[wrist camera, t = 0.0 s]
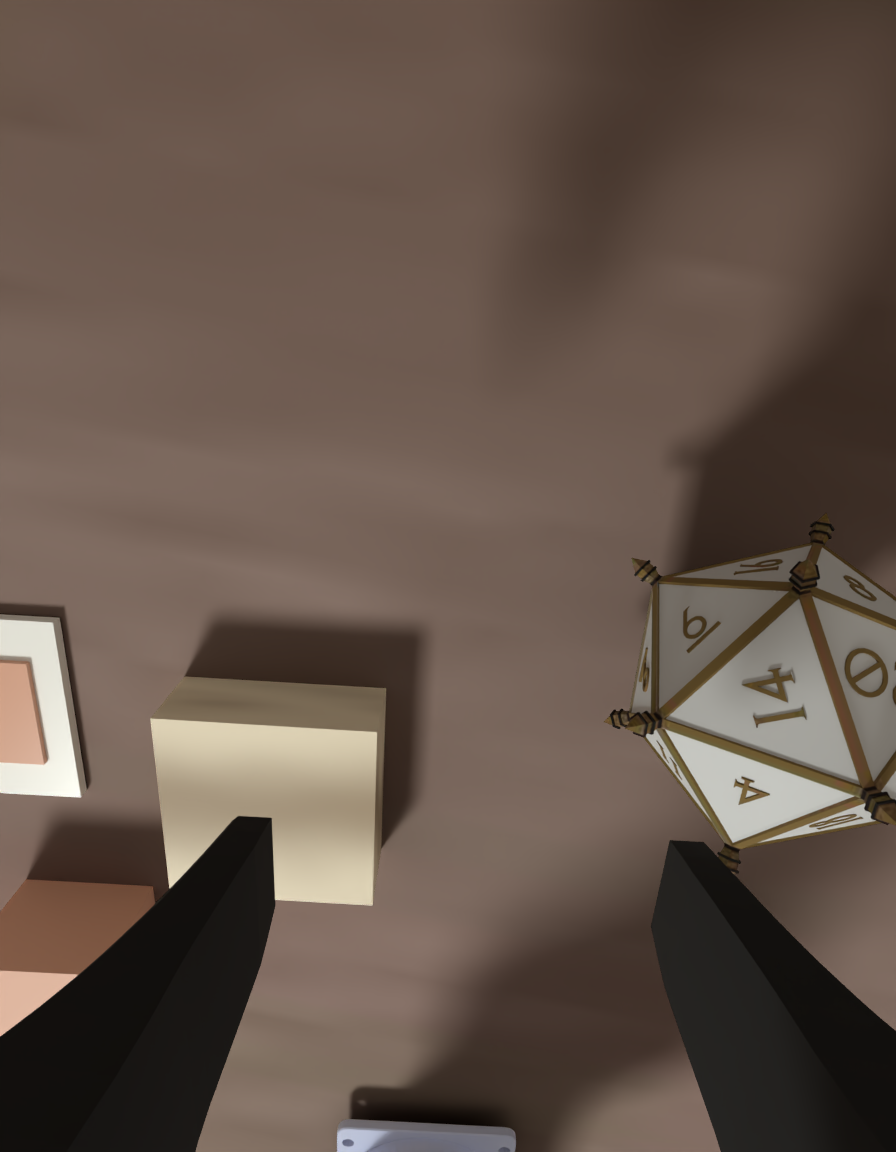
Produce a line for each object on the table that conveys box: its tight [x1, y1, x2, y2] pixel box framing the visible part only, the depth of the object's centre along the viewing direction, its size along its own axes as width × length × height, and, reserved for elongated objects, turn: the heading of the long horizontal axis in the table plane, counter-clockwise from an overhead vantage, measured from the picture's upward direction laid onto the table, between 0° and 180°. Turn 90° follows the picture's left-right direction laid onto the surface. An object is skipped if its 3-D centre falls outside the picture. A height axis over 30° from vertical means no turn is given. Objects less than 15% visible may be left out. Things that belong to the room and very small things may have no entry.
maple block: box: [150, 677, 386, 905], centre depth 23 cm, size 7×7×3 cm
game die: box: [604, 513, 896, 874], centre depth 17 cm, size 9×8×10 cm
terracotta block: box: [0, 879, 155, 1036], centre depth 25 cm, size 4×5×4 cm
